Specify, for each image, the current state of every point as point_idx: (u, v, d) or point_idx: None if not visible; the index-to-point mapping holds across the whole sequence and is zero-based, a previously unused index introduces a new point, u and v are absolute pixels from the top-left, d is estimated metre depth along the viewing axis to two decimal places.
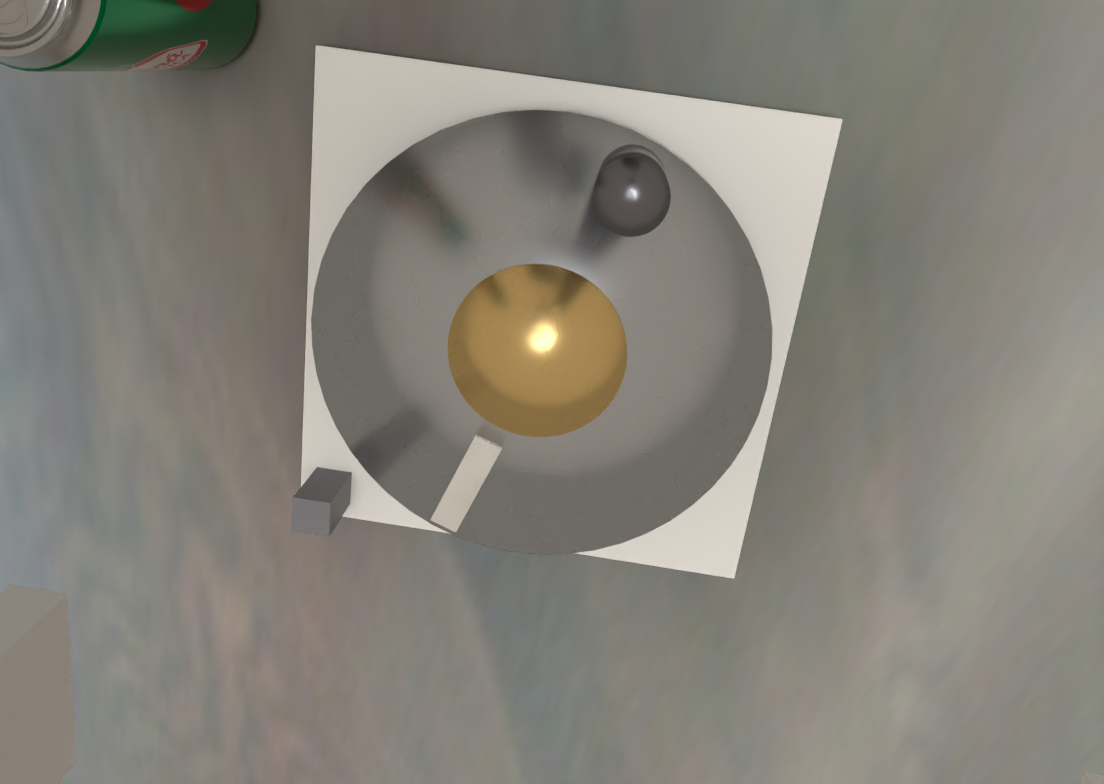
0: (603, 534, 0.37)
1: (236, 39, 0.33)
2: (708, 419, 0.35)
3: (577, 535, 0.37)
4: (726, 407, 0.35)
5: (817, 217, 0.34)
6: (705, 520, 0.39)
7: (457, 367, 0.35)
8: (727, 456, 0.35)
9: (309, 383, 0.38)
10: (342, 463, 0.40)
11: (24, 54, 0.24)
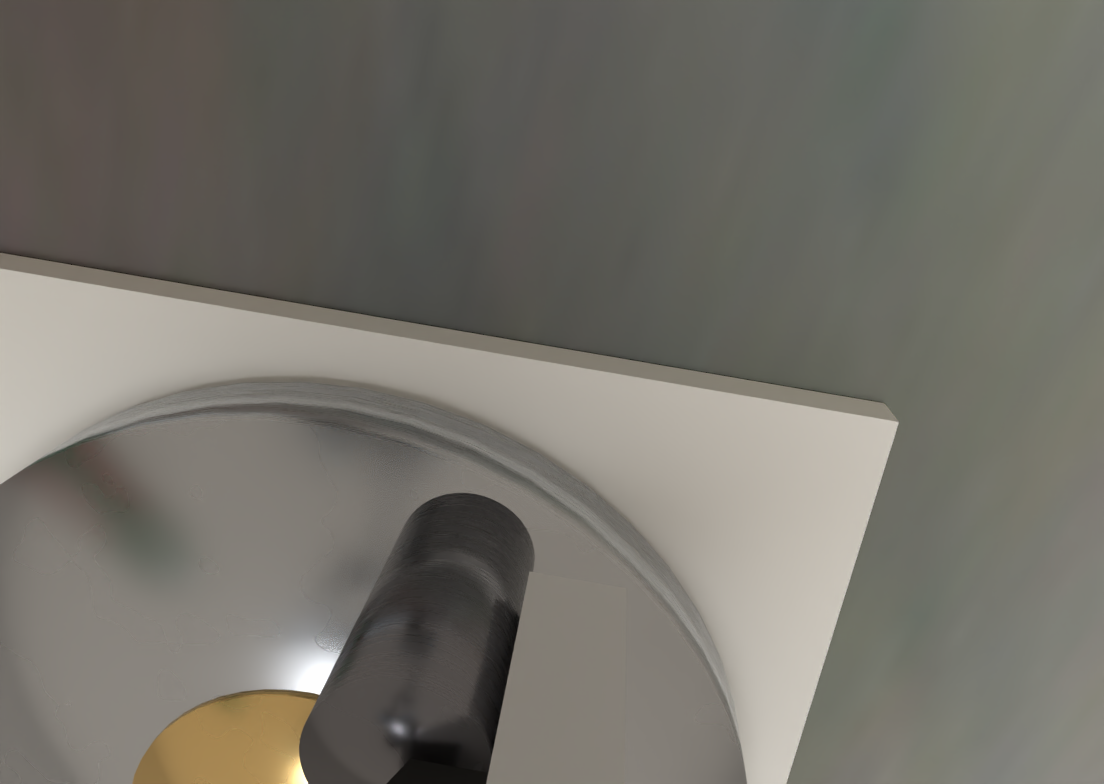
0: None
1: None
2: None
3: None
4: None
5: (843, 588, 0.18)
6: None
7: None
8: None
9: None
10: None
11: None
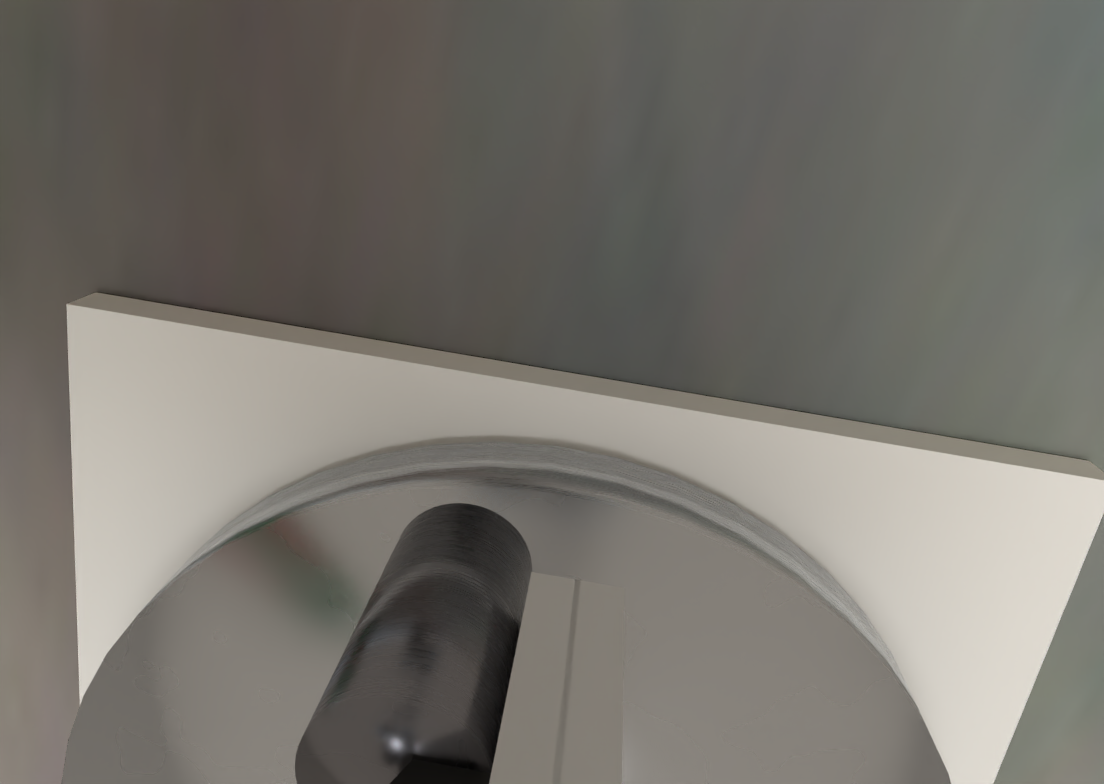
0: None
1: None
2: None
3: None
4: None
5: (1045, 646, 0.18)
6: None
7: None
8: None
9: None
10: None
11: None
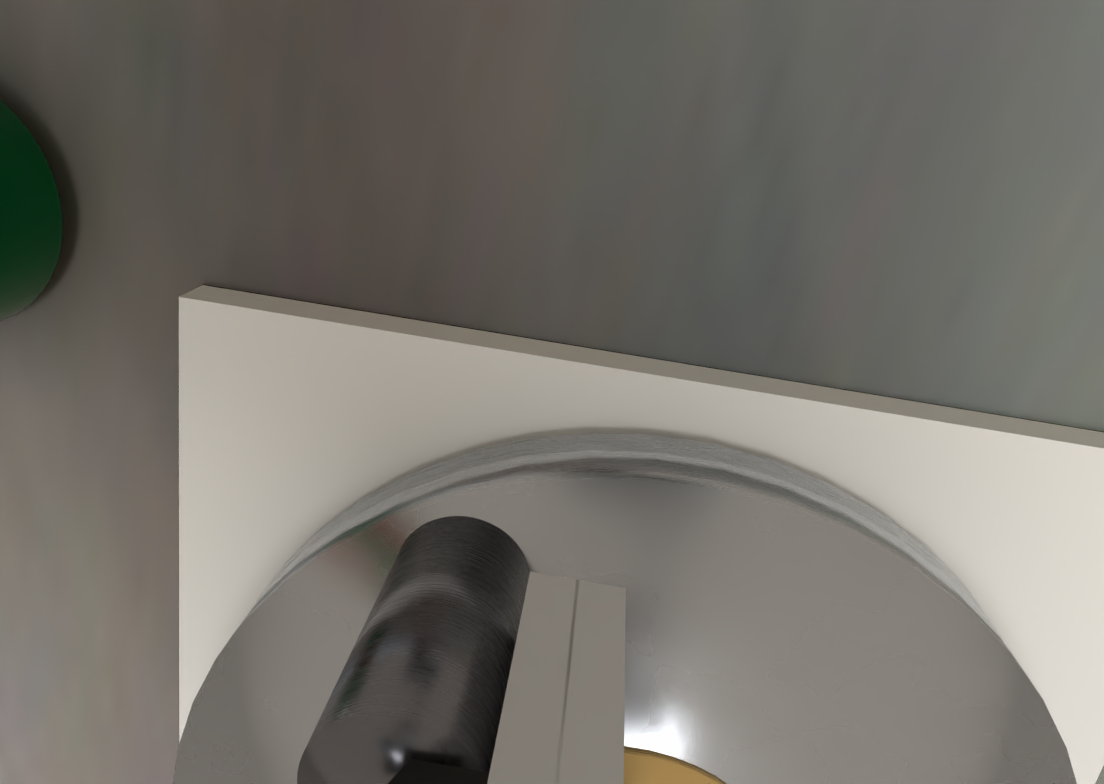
0: None
1: (12, 291, 0.16)
2: (965, 770, 0.16)
3: None
4: (973, 732, 0.16)
5: None
6: None
7: None
8: None
9: None
10: None
11: None
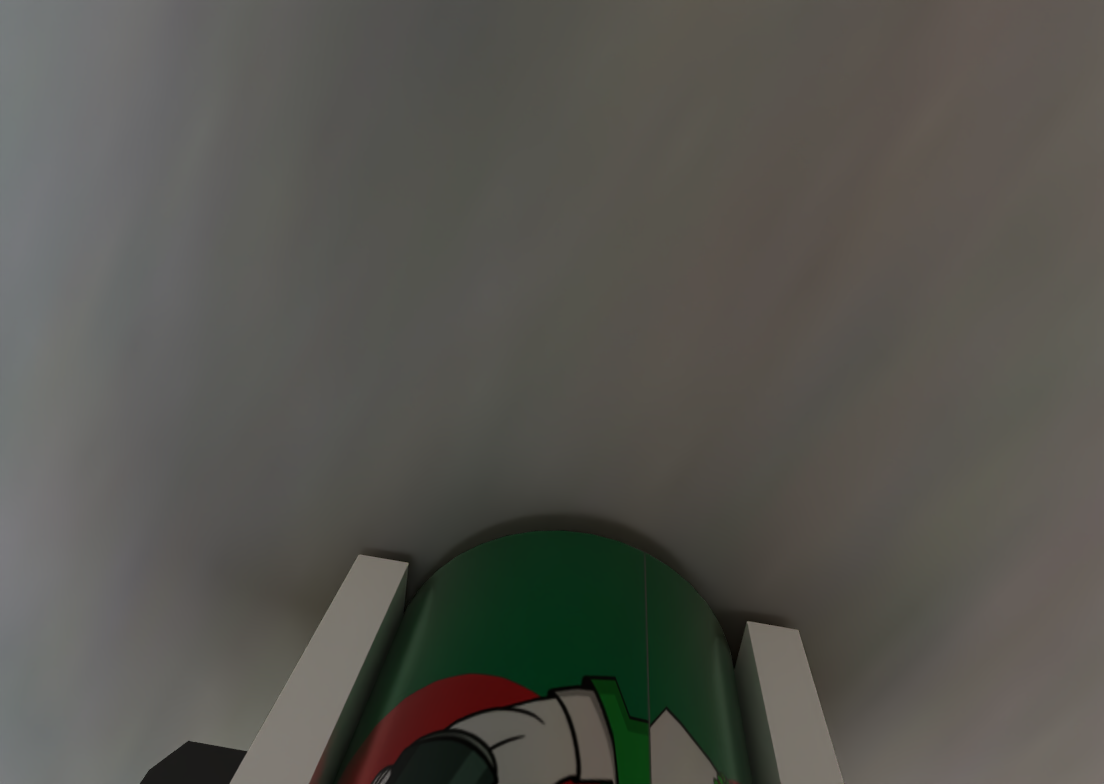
0: None
1: None
2: None
3: None
4: None
5: None
6: None
7: None
8: None
9: None
10: None
11: None
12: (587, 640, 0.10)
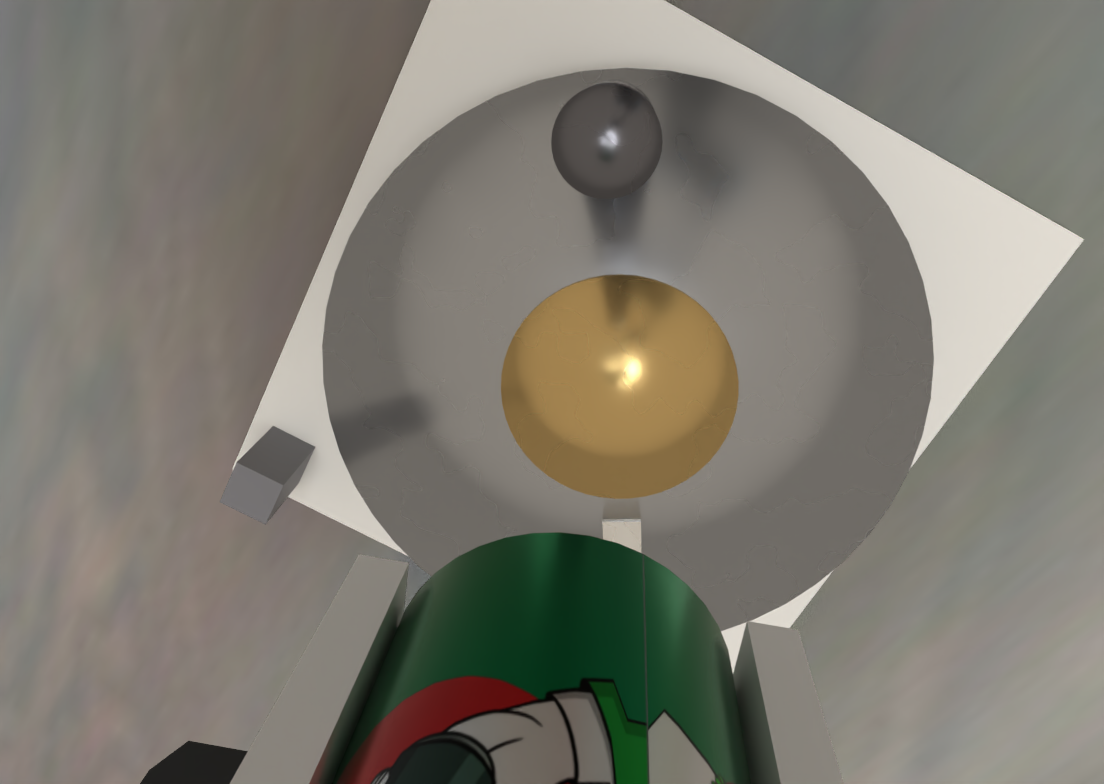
0: (817, 559, 0.28)
1: None
2: (869, 359, 0.25)
3: (786, 576, 0.28)
4: (883, 332, 0.25)
5: (1002, 342, 0.27)
6: None
7: (538, 455, 0.27)
8: (919, 391, 0.26)
9: (302, 321, 0.29)
10: (308, 432, 0.30)
11: None
12: (585, 642, 0.10)
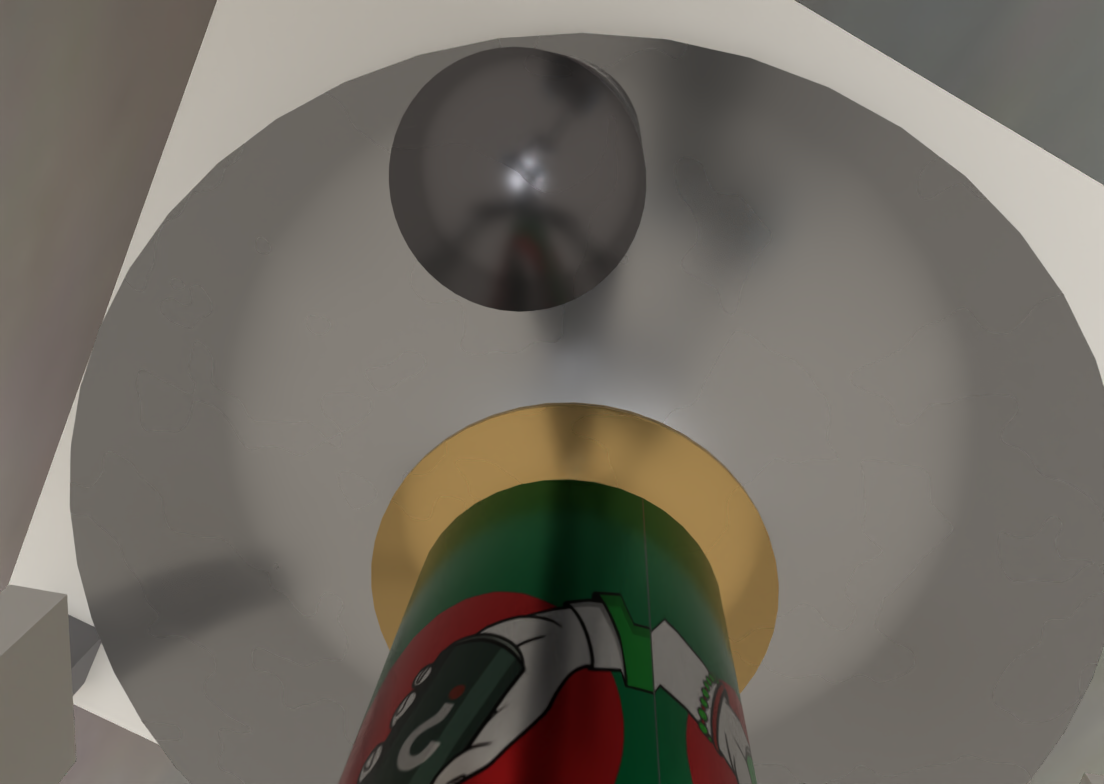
0: None
1: None
2: (1009, 554, 0.14)
3: None
4: (1037, 511, 0.14)
5: None
6: None
7: None
8: (1094, 608, 0.15)
9: (69, 446, 0.18)
10: None
11: None
12: (595, 565, 0.11)
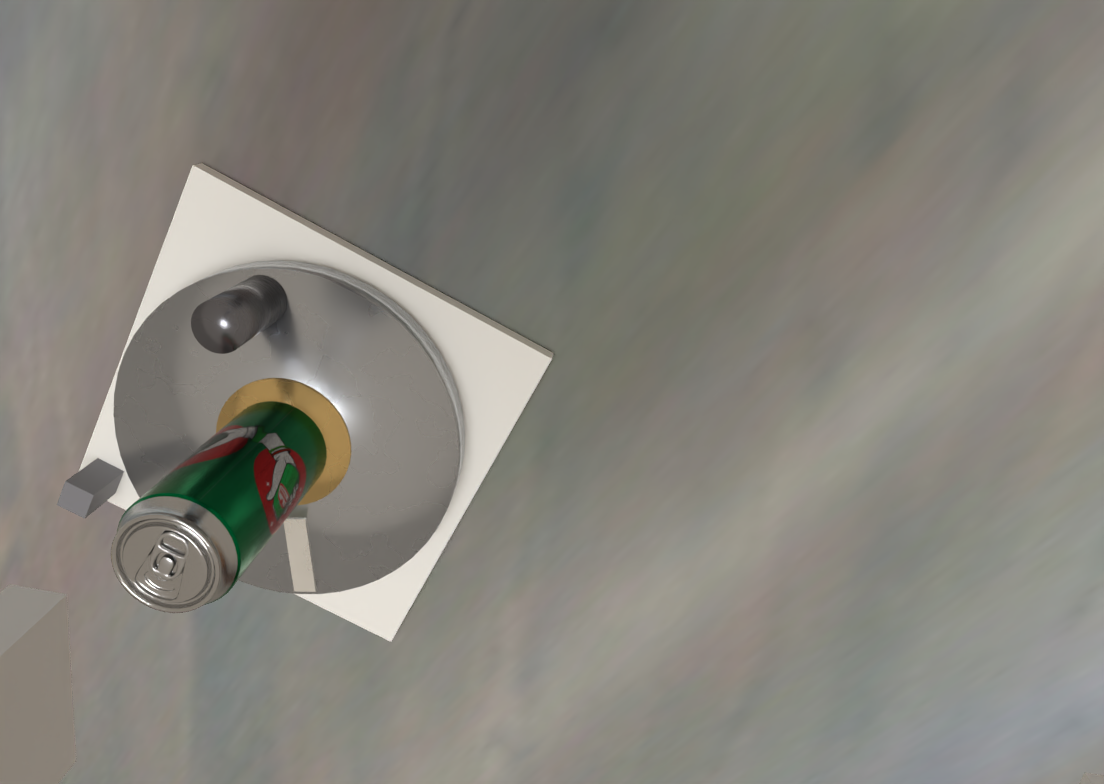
0: (410, 543, 0.47)
1: None
2: (421, 427, 0.44)
3: (394, 552, 0.47)
4: (426, 412, 0.44)
5: (517, 416, 0.46)
6: (381, 594, 0.51)
7: None
8: (451, 445, 0.45)
9: (111, 396, 0.48)
10: (119, 462, 0.49)
11: (166, 611, 0.35)
12: (261, 420, 0.41)
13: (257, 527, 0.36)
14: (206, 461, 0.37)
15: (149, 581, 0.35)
